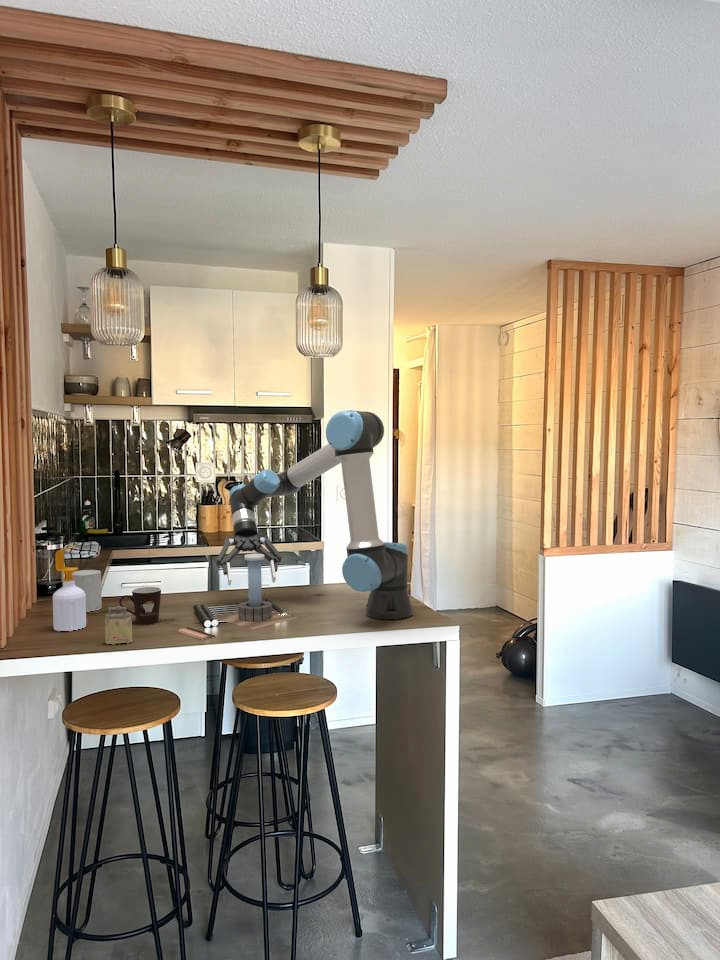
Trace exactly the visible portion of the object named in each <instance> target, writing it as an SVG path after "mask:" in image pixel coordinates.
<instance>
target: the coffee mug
mask: <svg viewBox="0 0 720 960" xmlns="http://www.w3.org/2000/svg"><path fill="white" fill-rule="evenodd" d="M131 594H132V595H128V594H127V595H123V596H122V597H120V599H119V601H118V603H119V606H121V607H124V605H122V601H123V599H125V598H129V599H130V600H131V602H132V603H133V608H134V611H132V610H130V609H128V608H126V612H129V613H131V615H134V616H135V623H136V624H137V625H141V626H148V625H154V624H157V623H159V618H160V617H159V616H160V606H161V596H162V588H161V587H159V586H142V587H137V588H134V589H131Z"/></svg>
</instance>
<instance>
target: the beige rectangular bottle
mask: <svg viewBox="0 0 720 960" xmlns="http://www.w3.org/2000/svg"><path fill="white" fill-rule="evenodd" d="M126 609H127V607H125V606H123V607H121V606H120V605H117V606H116V607H111V606H109V607H108V608H107V611H108V613H106V614H105V615H104V616H105V617H104V629H105V630H104V631H105V642H104V643H106V644H105V645H108V644H112V645H116V644H115V643H127V644H131V643H133V627H132V626H133V624H132V621H133V619H132V613H130V612H128V611H126ZM112 611H116V612H112ZM121 611H123V612H121ZM130 642H131V643H130Z"/></svg>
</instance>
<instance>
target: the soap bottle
mask: <svg viewBox="0 0 720 960" xmlns="http://www.w3.org/2000/svg"><path fill="white" fill-rule="evenodd" d="M75 547H77V546H76V545H72V546H68V547H65V548H62V549H58V550H56V552H55V554H54V557H55V558H54V559H55V560H54V561H55V562H54V563H55V570H56V571H57V572H63V575H65V577H64V578H62V587H60V588H59V589H56V591H54V592H53V594H52V615H53V616H52V618H53V620H52V621H53V625H52V626H53V630H54V631H56V632H60V631H69V632H74V631H73V630H76V631H79V630H78V629H80V630H83V629H85V628H86V627H87V613H86V595H85V592H84V591H83V590H82V589H81V588H79V587H77V586H75V578H73V577H72V573H74V571H79V567H66V565H65V552H66V551H67V550H70V549H73V548H75ZM82 628H83V629H82Z"/></svg>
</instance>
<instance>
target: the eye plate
mask: <svg viewBox="0 0 720 960" xmlns="http://www.w3.org/2000/svg"><path fill="white" fill-rule="evenodd" d="M237 610H238V611H237ZM237 610H236V611H234V612H229V613H225V614H221V615H220V614H219V615H216V616H212V617H211V618H212V619H214V620H219V621H222V622H224V623H228V624H233V625H236V626H238V627H239V626H240V627H243V628H246V629H250V630H257V629H261V628H264V627H267V626H272V625H277V624H279V623H283V622H288V621H291V620H295V619H299V618H300V616H295V615H291V614H287V613H284V614H285V615H284V616H283V615H282V616H281V615H278V614H279V613H281V612H279V611H277V610H273V603H272V602H270V601H265V600H262V606H258V607H249V602H248V601H243V602H240V603H238V605H237Z"/></svg>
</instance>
